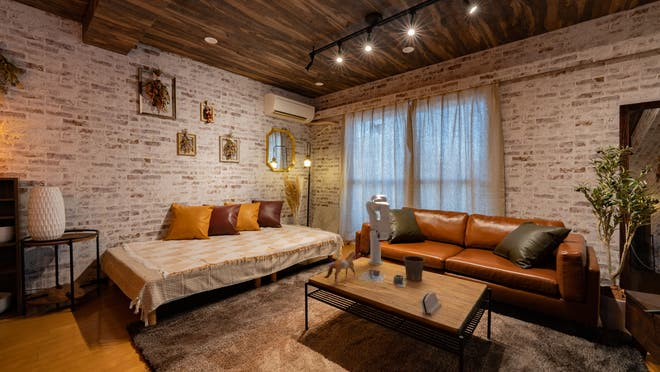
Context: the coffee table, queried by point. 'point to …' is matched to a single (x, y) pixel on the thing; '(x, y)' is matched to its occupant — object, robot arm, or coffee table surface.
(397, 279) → the collar
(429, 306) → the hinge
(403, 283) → the pad
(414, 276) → the plant pot
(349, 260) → the horse figurine
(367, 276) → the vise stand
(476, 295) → the coffee table surface
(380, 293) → the coffee table surface
